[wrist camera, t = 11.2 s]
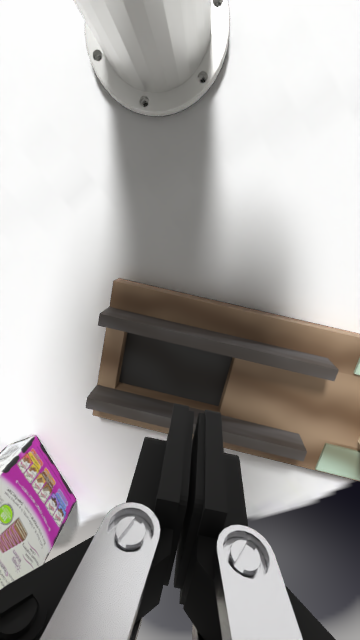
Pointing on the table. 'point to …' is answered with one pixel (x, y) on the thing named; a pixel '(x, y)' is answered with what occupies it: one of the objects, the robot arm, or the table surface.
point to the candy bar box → (29, 508)
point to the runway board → (232, 375)
